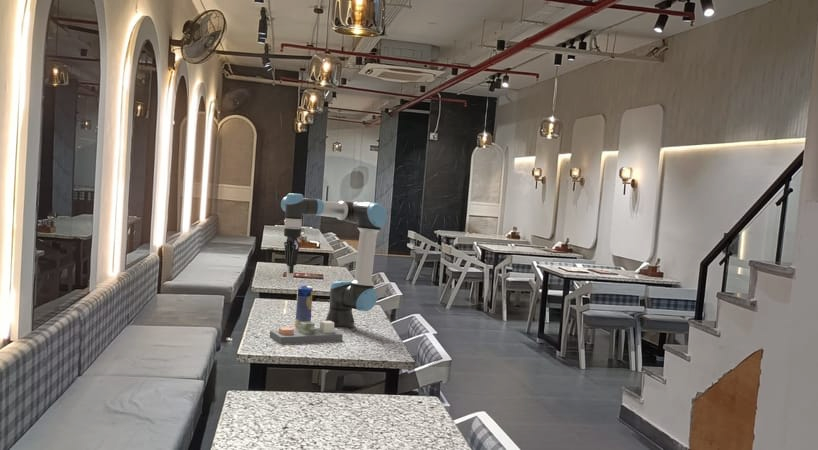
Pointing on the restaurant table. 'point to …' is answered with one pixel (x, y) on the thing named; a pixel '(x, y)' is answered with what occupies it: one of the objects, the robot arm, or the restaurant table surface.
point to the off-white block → (326, 326)
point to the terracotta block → (286, 331)
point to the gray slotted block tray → (305, 337)
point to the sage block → (307, 327)
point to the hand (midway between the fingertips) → (289, 280)
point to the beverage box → (303, 305)
